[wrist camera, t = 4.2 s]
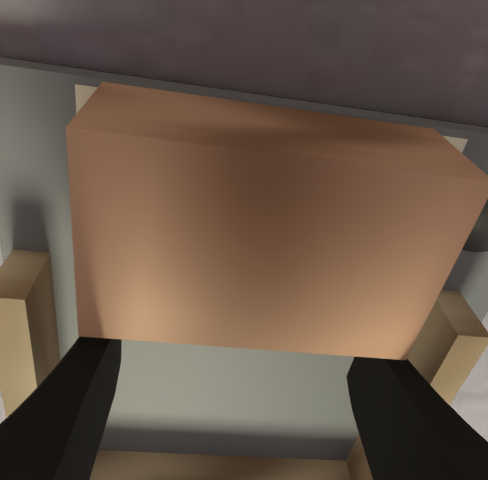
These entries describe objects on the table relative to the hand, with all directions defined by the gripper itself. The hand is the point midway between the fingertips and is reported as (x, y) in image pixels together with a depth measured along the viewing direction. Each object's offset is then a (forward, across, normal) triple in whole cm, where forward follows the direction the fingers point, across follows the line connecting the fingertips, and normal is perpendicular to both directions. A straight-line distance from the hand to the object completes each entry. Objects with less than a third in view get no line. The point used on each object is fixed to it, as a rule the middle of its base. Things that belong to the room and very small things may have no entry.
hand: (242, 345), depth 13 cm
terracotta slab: (+1, 0, -4) cm, 4 cm away
